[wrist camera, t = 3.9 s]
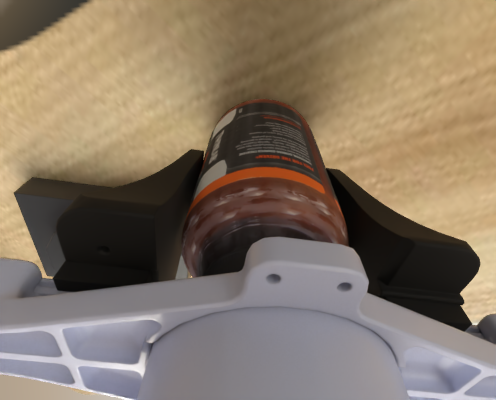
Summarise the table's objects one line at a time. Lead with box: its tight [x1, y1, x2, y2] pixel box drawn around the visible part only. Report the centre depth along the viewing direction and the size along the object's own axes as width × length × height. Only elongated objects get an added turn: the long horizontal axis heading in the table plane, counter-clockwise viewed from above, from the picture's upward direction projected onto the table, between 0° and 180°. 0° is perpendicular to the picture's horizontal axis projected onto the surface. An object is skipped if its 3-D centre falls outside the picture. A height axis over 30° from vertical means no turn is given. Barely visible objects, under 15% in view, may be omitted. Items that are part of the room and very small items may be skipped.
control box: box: [14, 177, 191, 280], centre depth 21 cm, size 11×8×4 cm
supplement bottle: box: [181, 99, 349, 278], centre depth 13 cm, size 6×6×11 cm
